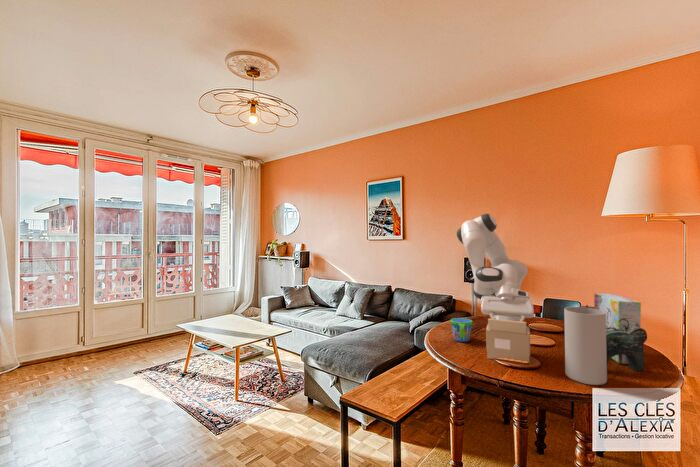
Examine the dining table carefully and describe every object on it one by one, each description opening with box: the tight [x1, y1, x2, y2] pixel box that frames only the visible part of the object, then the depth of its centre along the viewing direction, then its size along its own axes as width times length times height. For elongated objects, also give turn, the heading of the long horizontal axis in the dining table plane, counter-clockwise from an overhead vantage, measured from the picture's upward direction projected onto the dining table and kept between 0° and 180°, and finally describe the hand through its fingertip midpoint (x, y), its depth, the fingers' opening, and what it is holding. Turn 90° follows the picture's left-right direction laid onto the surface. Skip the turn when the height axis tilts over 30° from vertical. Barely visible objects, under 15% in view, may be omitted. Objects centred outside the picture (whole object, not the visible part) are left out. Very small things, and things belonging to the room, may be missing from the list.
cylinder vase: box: [563, 306, 608, 386], centre depth 122 cm, size 12×12×25 cm
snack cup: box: [450, 317, 473, 343], centre depth 168 cm, size 16×10×10 cm
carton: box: [485, 323, 531, 363], centre depth 146 cm, size 15×17×12 cm
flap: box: [487, 318, 527, 334], centre depth 137 cm, size 9×14×1 cm
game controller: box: [606, 319, 648, 372], centre depth 129 cm, size 20×6×20 cm, turn 91°
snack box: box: [593, 292, 642, 365], centre depth 144 cm, size 22×9×26 cm, turn 166°
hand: (506, 324), depth 136 cm, fingers open, 8 cm apart
